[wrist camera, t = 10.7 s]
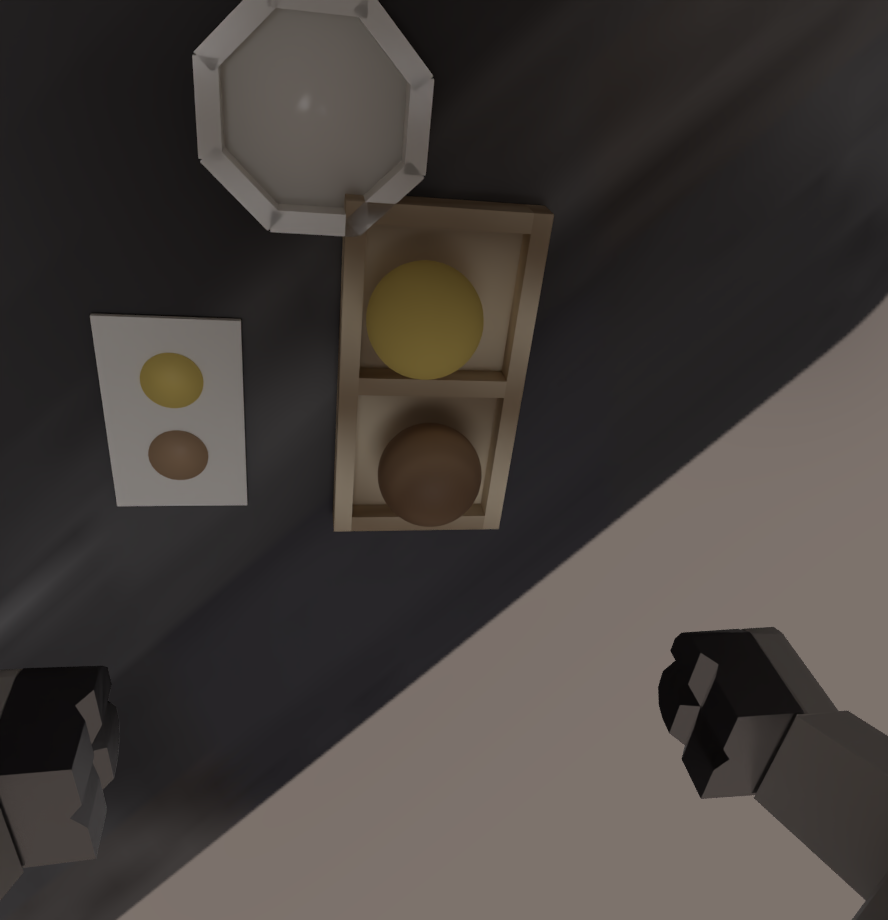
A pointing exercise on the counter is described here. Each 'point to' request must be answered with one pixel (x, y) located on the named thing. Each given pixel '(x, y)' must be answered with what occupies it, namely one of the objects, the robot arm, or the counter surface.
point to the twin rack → (456, 395)
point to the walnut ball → (429, 474)
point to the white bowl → (311, 111)
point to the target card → (173, 408)
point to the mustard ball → (424, 320)
